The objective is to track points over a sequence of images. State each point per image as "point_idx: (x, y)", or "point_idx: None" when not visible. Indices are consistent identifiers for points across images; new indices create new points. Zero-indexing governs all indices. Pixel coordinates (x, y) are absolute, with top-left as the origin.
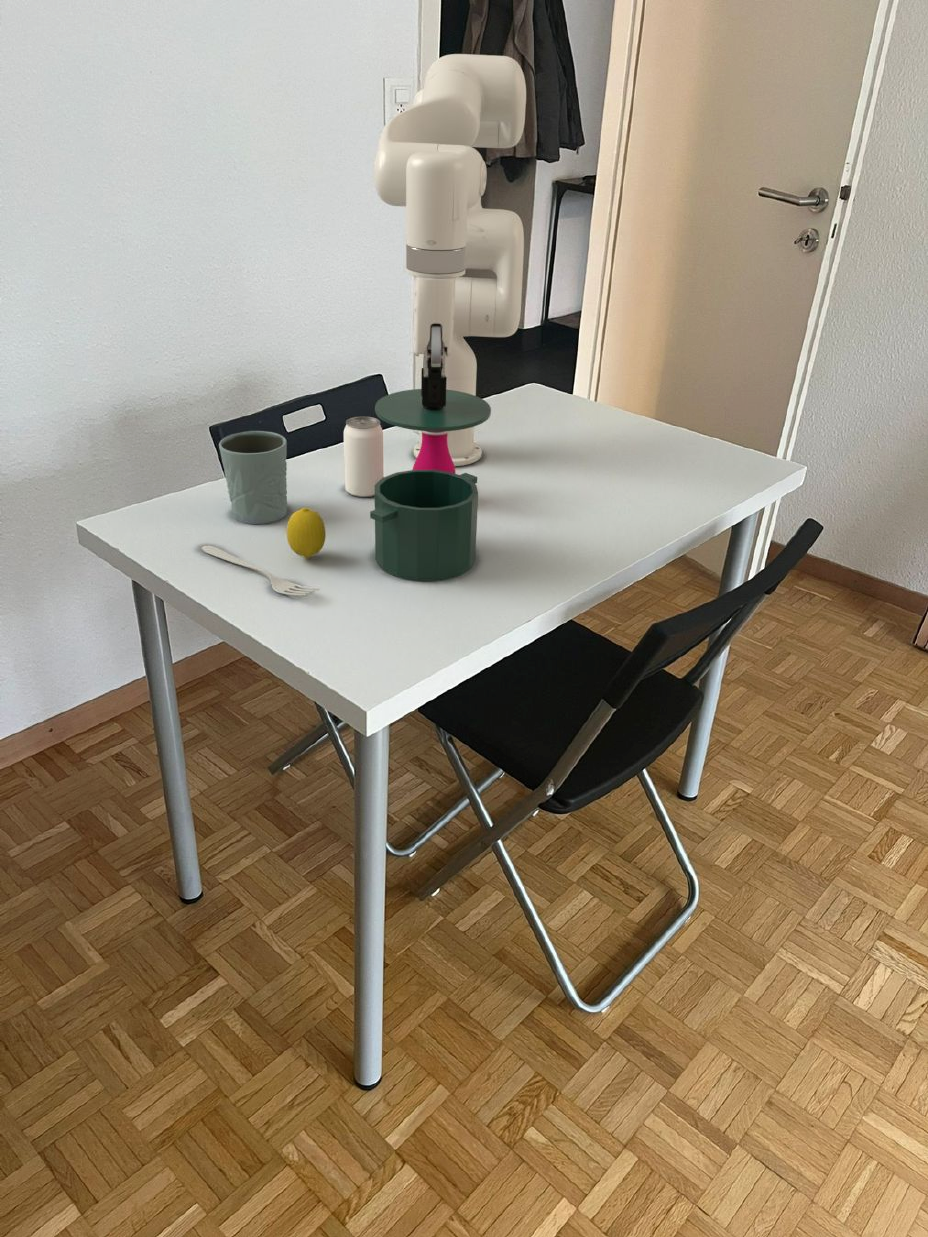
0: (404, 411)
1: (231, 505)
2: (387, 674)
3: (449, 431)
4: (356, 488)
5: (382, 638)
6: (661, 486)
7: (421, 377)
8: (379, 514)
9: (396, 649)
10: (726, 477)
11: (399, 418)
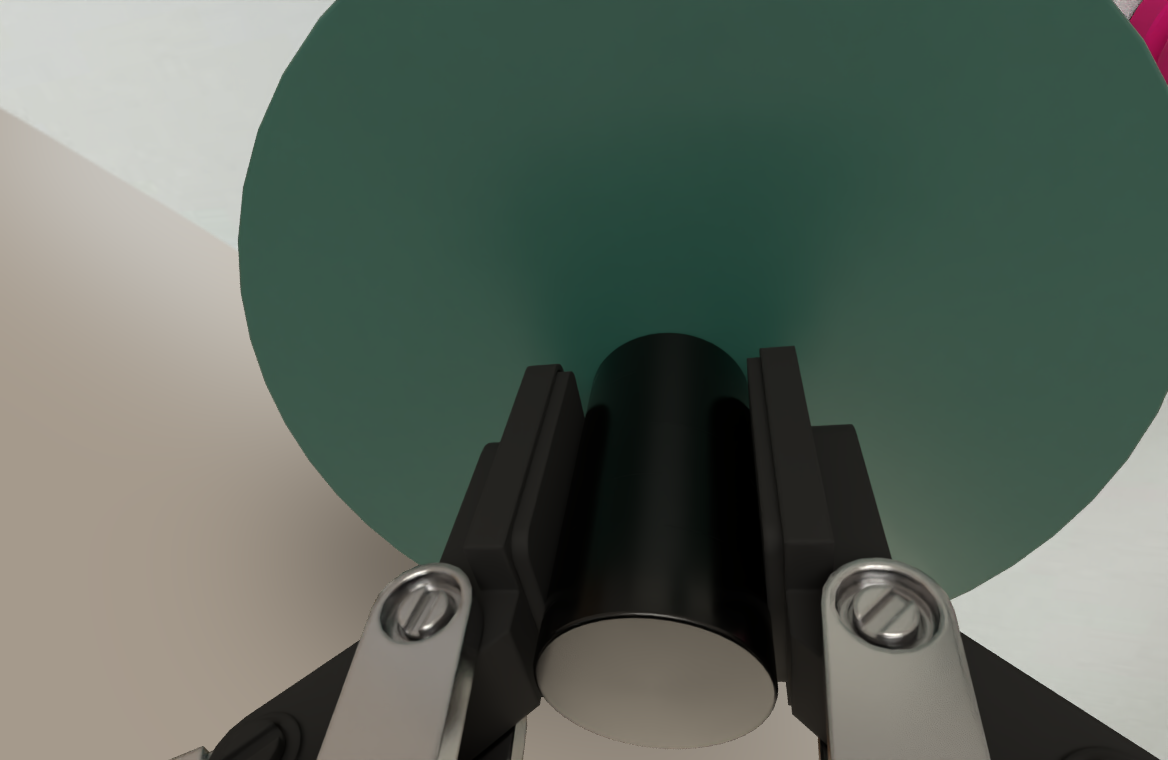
0: (514, 201)
1: None
2: (26, 61)
3: None
4: None
5: (161, 14)
6: (1127, 635)
7: (793, 461)
8: None
9: (134, 65)
10: (1146, 730)
11: (335, 181)
